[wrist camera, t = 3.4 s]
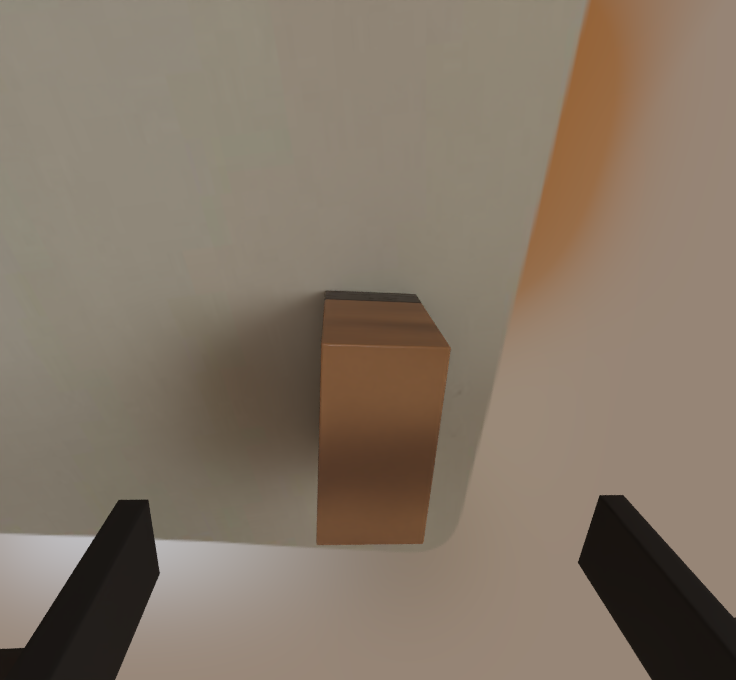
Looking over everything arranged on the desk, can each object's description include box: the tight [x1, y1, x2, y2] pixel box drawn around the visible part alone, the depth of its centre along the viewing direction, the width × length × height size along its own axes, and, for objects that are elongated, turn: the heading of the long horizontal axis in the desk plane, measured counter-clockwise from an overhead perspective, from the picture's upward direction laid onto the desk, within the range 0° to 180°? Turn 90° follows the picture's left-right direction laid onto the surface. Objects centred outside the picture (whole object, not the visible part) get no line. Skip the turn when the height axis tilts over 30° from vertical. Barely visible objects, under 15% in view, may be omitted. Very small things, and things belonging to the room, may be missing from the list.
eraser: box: [316, 291, 451, 545], centre depth 20 cm, size 9×4×7 cm, turn 176°
